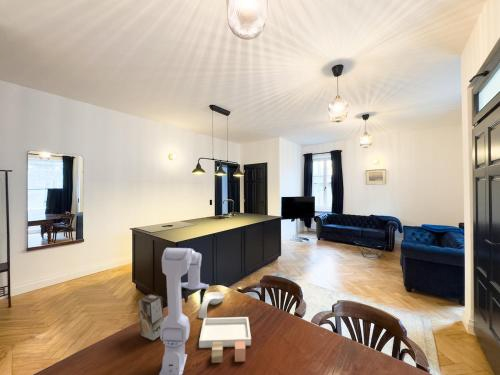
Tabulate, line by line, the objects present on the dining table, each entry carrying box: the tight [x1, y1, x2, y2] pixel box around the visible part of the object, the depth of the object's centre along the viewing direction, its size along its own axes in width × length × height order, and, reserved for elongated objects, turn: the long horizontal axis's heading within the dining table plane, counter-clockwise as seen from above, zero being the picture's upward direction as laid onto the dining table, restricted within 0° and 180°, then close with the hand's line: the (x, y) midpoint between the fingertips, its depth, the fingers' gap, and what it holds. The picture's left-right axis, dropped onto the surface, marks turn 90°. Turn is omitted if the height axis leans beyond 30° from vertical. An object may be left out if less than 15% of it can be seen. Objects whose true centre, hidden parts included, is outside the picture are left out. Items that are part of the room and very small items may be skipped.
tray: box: [198, 316, 252, 349], centre depth 99 cm, size 16×22×3 cm
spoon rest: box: [197, 291, 225, 320], centre depth 122 cm, size 24×12×7 cm, turn 169°
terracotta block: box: [234, 341, 246, 363], centre depth 86 cm, size 4×4×5 cm
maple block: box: [211, 342, 224, 364], centre depth 85 cm, size 4×4×5 cm
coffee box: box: [138, 293, 165, 341], centre depth 98 cm, size 9×6×16 cm
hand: (194, 302), depth 107 cm, fingers open, 7 cm apart
